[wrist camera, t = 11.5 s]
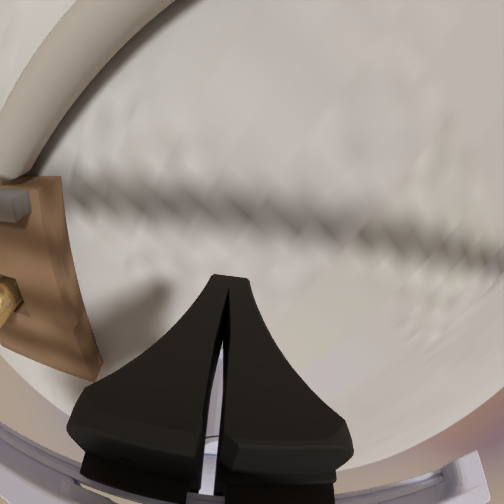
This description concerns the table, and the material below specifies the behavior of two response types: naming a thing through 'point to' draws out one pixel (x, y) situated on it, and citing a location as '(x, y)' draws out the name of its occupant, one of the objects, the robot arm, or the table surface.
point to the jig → (43, 279)
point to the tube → (64, 74)
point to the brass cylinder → (8, 297)
